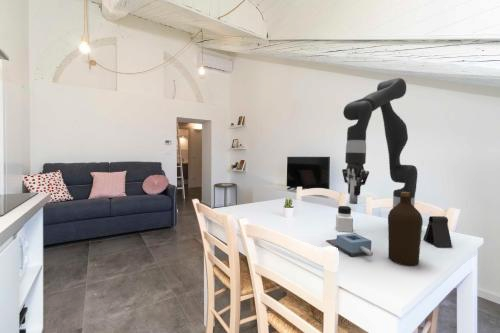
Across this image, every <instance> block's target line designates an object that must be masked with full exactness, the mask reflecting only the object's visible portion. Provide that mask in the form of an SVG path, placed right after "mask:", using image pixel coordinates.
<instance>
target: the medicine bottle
mask: <svg viewBox="0 0 500 333" xmlns="http://www.w3.org/2000/svg"><path fill="white" fill-rule="evenodd" d="M337 208H338V210H337V213H336V214H335V227H336V230H337V232H347V233H348V232H349V233H353V232H354V226H353V225H354V218H353V216H352V208H351V207H350V206H348V205H339V206H338V207H337Z"/></svg>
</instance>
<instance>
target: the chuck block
mask: <svg viewBox="0 0 500 333" xmlns="http://www.w3.org/2000/svg"><path fill="white" fill-rule="evenodd" d="M336 239H337V248H338V249H337V248H336V249H337V250H338V251H340V252H342V253H344V254H345V255H347V256H348V257H350V258H355V257H362V256H373V254H374V251H373V250H372V240H371V239H369V238H367V237H364V236H363V235H361V234H358V233H356V232H355V233H353V232H351V233H345V234H344V233H343V234H336Z"/></svg>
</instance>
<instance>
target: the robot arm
mask: <svg viewBox="0 0 500 333" xmlns="http://www.w3.org/2000/svg"><path fill="white" fill-rule="evenodd" d="M406 92H407V84H406V81H405V79H403V78H401V77H395V78H392V79H388V80H385V81H380V82H379V83H378V84H377V87H376V91H374V92H371V93H369V94H367V95H365V96H363V98H359V99H356V100H354V101H351V102H348V103H347V104H345V106H344V108H343V113H342V114H343V116H344V118H345V119H346V120H347V121H357V122H356V123H355V124H354V125H350V126H348V127H347V131H346V132H347V133H346V143H345V144H346V145H345V159H344V160H345V161H344V162H345V164H347V165H346V168H343V169H342V170H341V172H342V175H343V181H344V183H345V184H347V186H348V187H347V194H349V195H350V178H349V177H348V175H351V171H352V173H353V180H354V185H355V186H354V195H356V196H358V197H359V196H360V195H361V187H362V186H364V185H365V184H366V182H367V179H368V177H369V175H370V171H369V170H365V168H364V165H365V164H366V159H367V157H366V156H367V130H368V127H369V123H370V120H371V119H372V118H371V117H372V114H373V112H375V111H376V110H377V109H379V108H380V111H381V115H382V120H383V121H382V122H383V127H384V128H383V129H384V135H385V140H386V145H387V153H388V162H389V163H388V165H389V175H390V178H391V181H392V182H394V183H400V184H403V185H404V186H403V187H401V188H398V189H395V190H393V193H392V194H393V197H392V208H394V207H395V206H396V205H397V204H399V203H400V196H401V192H410V193H411V204H412V205H413V206H414V207H415V203H416V202H415V200H416V199H415V198H416V192H417V182H418V168H417V167H416V166H415V165H413V164H402V163H401V154H402V152H403V150H404V148H405V146H406V145H407V143H408V141H409V137H408V136H409V134H408V128H407V125H406V122H405V121H404V120H403V118H401V116H399V115H398V114H397V113H396V112H395V110H394V109H393V106H392V104H391V101H394V100H398V99H401V98H403V97H404V96H405V95H406ZM356 177H359V178H356ZM357 180H358V183H357Z"/></svg>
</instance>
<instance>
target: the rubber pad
mask: <svg viewBox="0 0 500 333" xmlns="http://www.w3.org/2000/svg"><path fill="white" fill-rule="evenodd" d="M326 243H328V244H330V245H332V246H333V245H334V247H335V248H336V247H337V238H333V239H326Z"/></svg>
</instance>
